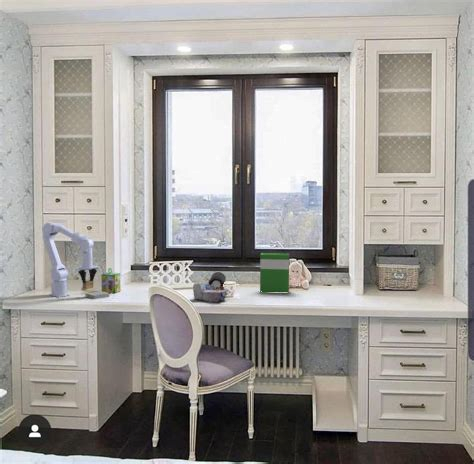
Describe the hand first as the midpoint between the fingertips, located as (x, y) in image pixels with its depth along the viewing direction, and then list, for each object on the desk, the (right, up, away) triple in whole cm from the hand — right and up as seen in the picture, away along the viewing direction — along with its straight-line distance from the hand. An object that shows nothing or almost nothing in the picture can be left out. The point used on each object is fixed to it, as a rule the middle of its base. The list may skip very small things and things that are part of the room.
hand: (87, 282), depth 343 cm
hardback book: (+111, -8, +24) cm, 114 cm away
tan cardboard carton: (0, -5, 0) cm, 5 cm away
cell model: (+72, -10, -4) cm, 73 cm away
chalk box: (+10, -8, +20) cm, 23 cm away
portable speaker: (+75, -8, +31) cm, 82 cm away
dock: (+5, -9, +4) cm, 11 cm away
